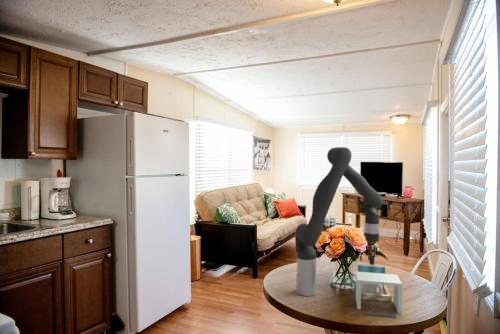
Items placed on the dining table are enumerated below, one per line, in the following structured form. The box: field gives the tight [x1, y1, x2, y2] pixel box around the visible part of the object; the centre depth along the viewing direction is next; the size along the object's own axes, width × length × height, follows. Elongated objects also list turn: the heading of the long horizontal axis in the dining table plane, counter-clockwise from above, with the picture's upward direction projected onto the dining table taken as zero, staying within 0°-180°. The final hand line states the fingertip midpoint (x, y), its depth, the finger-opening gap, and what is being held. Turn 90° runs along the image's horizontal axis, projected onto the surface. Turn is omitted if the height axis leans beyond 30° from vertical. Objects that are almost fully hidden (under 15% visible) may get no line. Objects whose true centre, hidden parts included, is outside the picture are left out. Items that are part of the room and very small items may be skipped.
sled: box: [357, 264, 393, 303], centre depth 169 cm, size 13×24×9 cm, turn 166°
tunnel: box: [355, 270, 403, 315], centre depth 152 cm, size 18×12×13 cm, turn 76°
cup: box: [361, 283, 384, 294], centre depth 162 cm, size 11×8×8 cm
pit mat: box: [364, 310, 397, 319], centre depth 142 cm, size 12×2×1 cm, turn 76°
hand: (370, 262), depth 180 cm, fingers open, 8 cm apart
